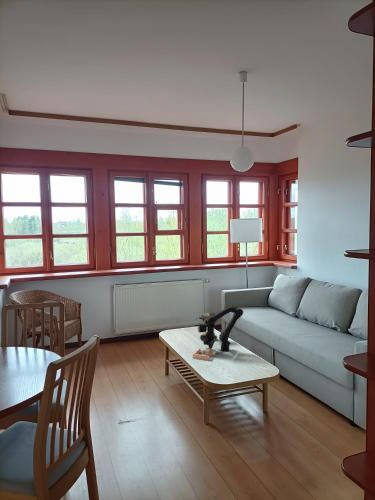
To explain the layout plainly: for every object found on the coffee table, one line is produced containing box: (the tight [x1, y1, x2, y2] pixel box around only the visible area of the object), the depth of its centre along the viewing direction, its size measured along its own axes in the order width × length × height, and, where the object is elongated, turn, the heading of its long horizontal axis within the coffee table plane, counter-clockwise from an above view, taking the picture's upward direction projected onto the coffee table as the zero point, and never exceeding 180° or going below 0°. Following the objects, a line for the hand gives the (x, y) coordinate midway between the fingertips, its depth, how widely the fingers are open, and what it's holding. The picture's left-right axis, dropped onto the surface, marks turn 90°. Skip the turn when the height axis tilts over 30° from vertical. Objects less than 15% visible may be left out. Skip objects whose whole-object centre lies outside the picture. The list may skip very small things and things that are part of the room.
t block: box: [202, 347, 217, 356], centre depth 302 cm, size 9×8×4 cm
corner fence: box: [192, 347, 209, 361], centre depth 299 cm, size 14×15×3 cm
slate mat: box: [193, 349, 220, 362], centre depth 300 cm, size 17×19×1 cm
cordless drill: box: [195, 312, 217, 342], centre depth 339 cm, size 9×20×25 cm, turn 111°
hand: (210, 349), depth 309 cm, fingers closed
